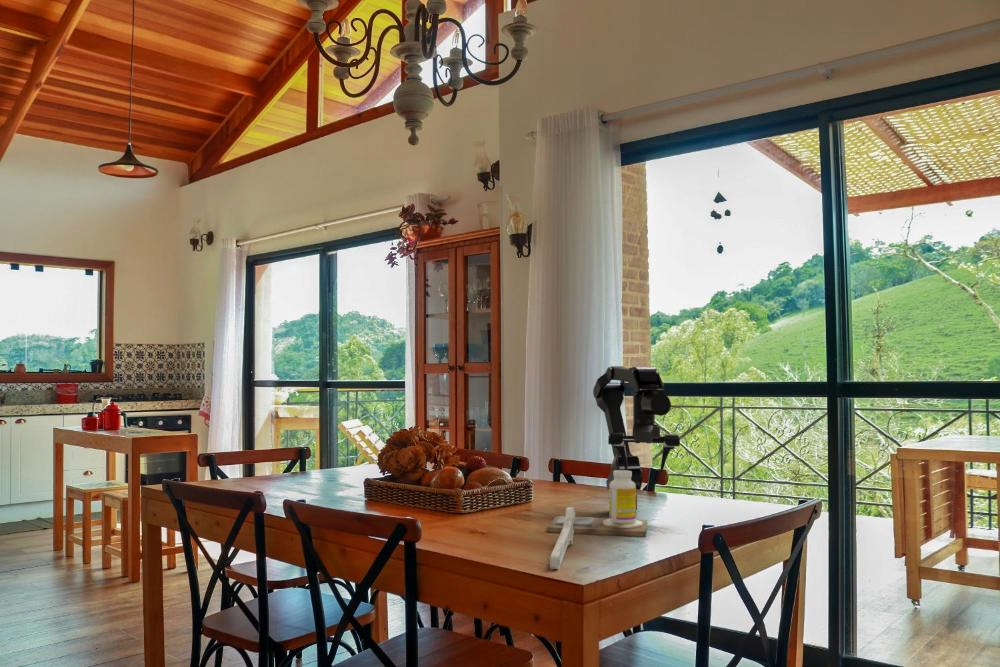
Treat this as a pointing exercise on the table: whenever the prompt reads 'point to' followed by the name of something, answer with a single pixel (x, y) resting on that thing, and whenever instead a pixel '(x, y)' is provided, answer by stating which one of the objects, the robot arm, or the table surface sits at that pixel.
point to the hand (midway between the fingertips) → (643, 471)
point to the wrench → (563, 539)
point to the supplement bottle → (622, 498)
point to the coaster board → (600, 526)
